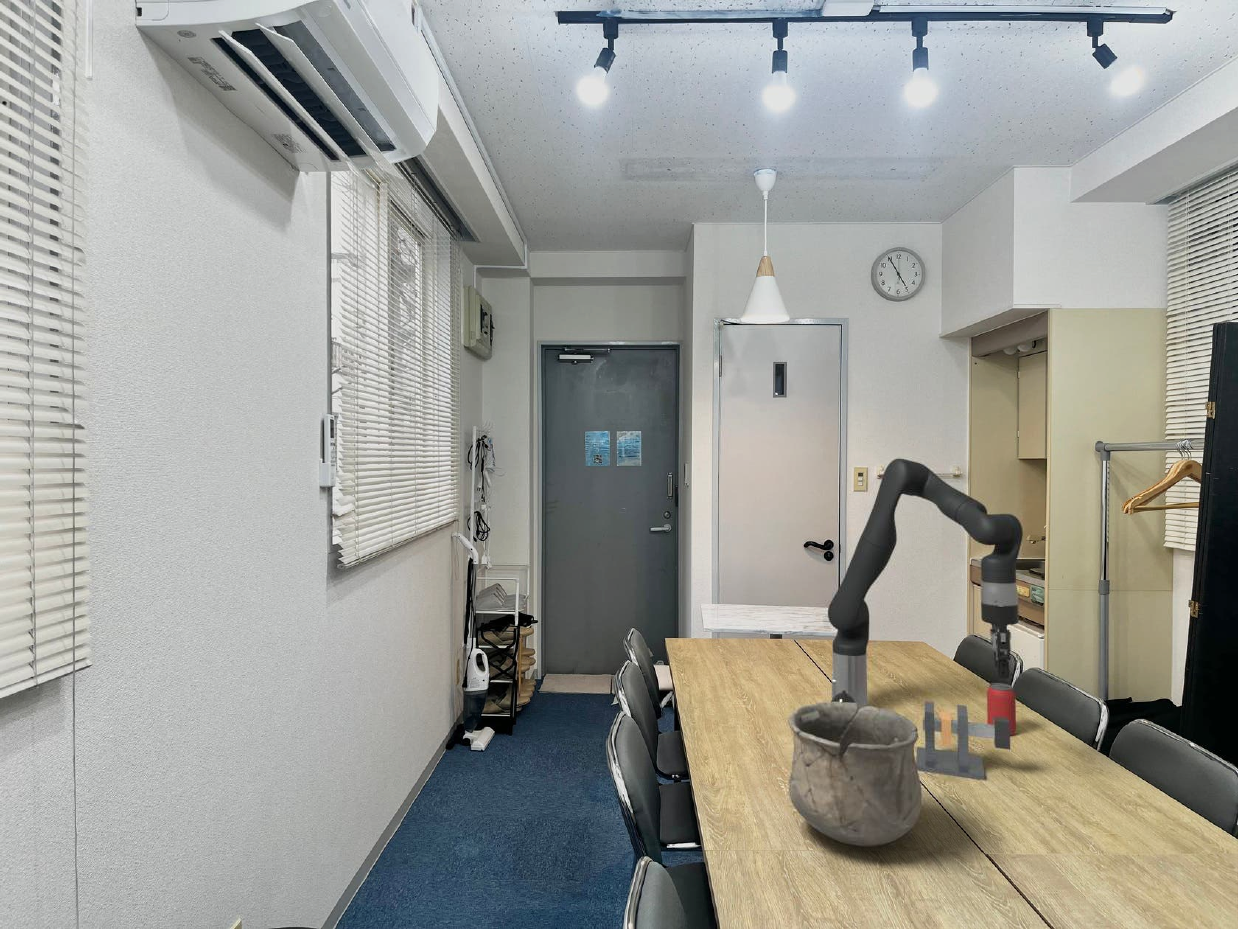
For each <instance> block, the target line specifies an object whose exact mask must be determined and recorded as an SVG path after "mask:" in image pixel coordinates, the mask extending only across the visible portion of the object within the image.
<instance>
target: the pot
mask: <svg viewBox="0 0 1238 929" xmlns="http://www.w3.org/2000/svg"><path fill="white" fill-rule="evenodd" d="M787 723H788V725H789V727H790V729H791V731H792V733H793V734H792V735H793V736H792V740H793V745H794V747H793V753H792V762H791V772H790V776H789V779H788V792H789V799H790V801H791V803H792V806H793V807H794V808H795V810H796V811H797V813H798V814H799V815H800V816H801V817H802V818H803V819H804V820H805V821H806V822H807V823H809V824H810V825H811V826H812V827H813V828H814V829H815V830H816V831H818V832H820V833H821V834H823V835H825V836H827V837H829V838H830V839H832V840H834V841H837V842H839V843H842V844H846V845H847V844H848V845H850V846H851V845H853V846H859V847H860V846H861V847H878V846H882V845H885V844H889V843H891V842H894V841H897V840H898V839H900V838H901V837H903V836H904V835H905V834H907V833H909V831H910V830H911V829H913V828H914V826H915V825H916V823H917V821H918V819H919V816H920V812H921V808H922V801H923V800H922V797H923V794H922V784H921V778H920V775H919V770H917V766H916V758H915V749H914V748H915V744H916V742H917V741H918V738H919V733H918V727H917V726H916V725H915V724H914V723H913V722H912V721H911V720H909V719H908V718H907V717H906V716H904V715H902V714H900V713H898V712H896V711H893V710H891V709H885V708H878V707H876V706H874V705H873V706H872V705H867V706H865V707H863V708H860V709H859V706H858V703H848V702H831V701H822V702H816V703H815V704H808V705H801V706H799V707H798V708H796V709H795V710H794V711H793V712H792V713H791V714H790V715H789V716H788V719H787Z"/></svg>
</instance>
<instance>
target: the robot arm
mask: <svg viewBox="0 0 1238 929" xmlns="http://www.w3.org/2000/svg"><path fill="white" fill-rule="evenodd" d="M879 484H880V485H879V488H878V492H877V494H876V498H875V500H874V503H873V507H872V508H871V512H870V514H869V517H868V519H867V522H866V524H865V527H864V529H863V531H862V533H861V535H860V538H859V539H858V542H857V544H856V546H855V549H854V551H853V555H852V557H851V560H850V562H849V565H848V567H847V570H846V572H845V575H844V577H843V580H842V581H841V584H840V586H839V587H838V589H837V591H836V593H835V595H834V596H833V597H832V600H830V603H829V605H828V607H827V618H828V621H829V623H830V624H831V626H832V627H833V628H835V629H836V630H837V633H836V635H835V637H834V640H833V641H832V679H831V699H832V698H833V697H834V696H835V695H836V694H838V693H842V691H843V690H845V691H846V693H847V694H849V695H851V696H852V697H853V698H854V700H855V701H856V703H858V706H859V709H860V708H863V707H865V706H868V672H867V671H868V670H867V669H868V665H867V663H868V662H867V660H868V659H867V654H868V653H867V649H868V644H869V640H870V610H869V607H868V604H867V601H866V600H865V598H866V596H867V593H868V592H869V590H870V589H871V587H872V585H873V584H875V582H876V581H877V579H878V578H879V577H880V575H881V574H882V572H883V571H884V570H885V569H886V567H887V565H888V563H889V561H890V559H891V556H892V554H893V552H894V551H895V548H896V545H897V541H898V539H897V538H898V536H897V527H896V520H895V514H896V509H897V507H898V503H899V502H900V499H901V497H902V495H904V496H905V495H906V496H910V497H918V498H921V499H924V500H927V501H929V502H931V503H933V504H934V505H935V506H936V508H938V509H939V511H940V513H942V514H943V515H944V516H946V517H947V518H948V519H950V520H952V521H953V522H954V523H956V524H958V525H959V526H961V527H962V528H963V529H964V530H965V532H966V533H967V534H968V535H969V536H970V537H971V538H972V539H973V540H974V541H975V542H977V543H979V544H982V545H983V546H984V545H985V546H994V547H993V550H992V552H991V553H990V554H988V555H985V556H983V557H982V558H981V560H980V561H981V562H980V572H981V573H980V576H981V577H980V578H981V579H980V580H981V582H980V583H981V584H980V615H981V617H980V618H981V621H982V622H984V623H987V624H990V625H991V628H989V635H990V644H991V646H992V648H991V649H992V651H993V664H994V665H993V666H994V668H996V669H997V676H998V678H999V679H1009V678H1010V661H1011V658H1012V656H1011V652H1012V644H1011V639H1012V632H1011V630H1010V629H1008V626H1009V625H1011V626H1013V625H1017V624H1019V621H1020V619H1019V618H1020V617H1019V616H1020V615H1019V592H1018V587H1017V569H1016V568H1017V567H1016V564H1017V561H1018V558H1019V554H1020V549H1021V545H1022V541H1023V536H1024V535H1023V534H1024V533H1023V532H1024V531H1023V526H1022V523H1021V521H1020V520H1019V518H1018V517H1017V516H1015V515H1014V514H1012V513H1011V514H1010V513H996V514H994V513H993V514H988V509H987V507H986V506H985V505H984V504H983V503H981V501H978V500H977V499H975V498H973V497H971V496H970V495H968V494H966V493H964V492H962V491H961V490H958V489H956V487H953V486H951V485H950V484H949V483H947V482H945V481H944V480H943V479H941V477H940V476H938V475H937V474H936V473H935V472H934V471H933V470H931V468H929V467H928V466H926V465H925V464H923V463H921V462H918V461H913V460H908V459H906V458H905V459H904V458H901V457H898V458H895V459H893V460H892V461H890V462H889V463H888V465H887V467H886V468H885V470H884V472H883V474H882V477H881V482H880V483H879Z"/></svg>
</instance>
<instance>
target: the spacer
mask: <svg viewBox="0 0 1238 929" xmlns="http://www.w3.org/2000/svg"><path fill="white" fill-rule="evenodd" d="M940 716H941V730H942V732H940V734H941V746H945V747H952V733H951V720H952V717H951V711H943V710H941V711H940Z"/></svg>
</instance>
